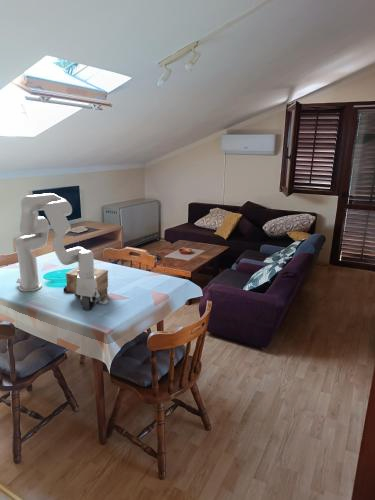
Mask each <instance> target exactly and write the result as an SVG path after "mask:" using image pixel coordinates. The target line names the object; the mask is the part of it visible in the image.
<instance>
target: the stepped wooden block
mask: <svg viewBox="0 0 375 500" xmlns="http://www.w3.org/2000/svg"><path fill="white" fill-rule="evenodd" d="M77 271H79V267H78V266H77V267H75V268H73V269H70V270H69V271H68V272H65V278H66V279H65V280H66V281H65V282H66V286H67V291H73V292H76V285H77V277H78V276H79V274H78V273H77ZM108 275H109V270H108V269H107V270H106V269H101V268H95V267H94V276H95V278H96V282H97V290H98V293H99V295H100V297H101V299H105V297H106V296H108V288H109V276H108ZM74 295H75V296H78V295H77V294H76V293H75V294H74ZM95 296H96V295H95Z"/></svg>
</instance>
